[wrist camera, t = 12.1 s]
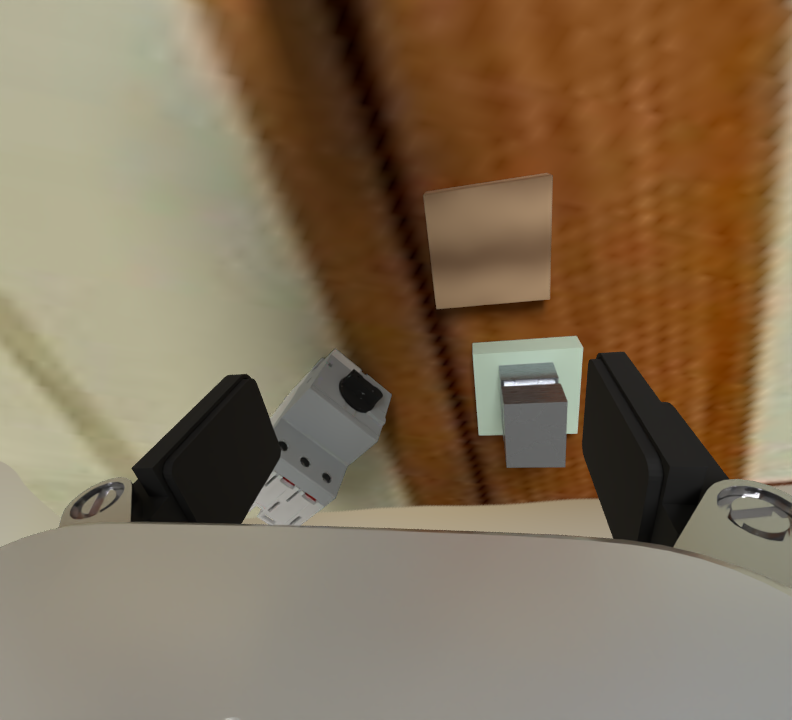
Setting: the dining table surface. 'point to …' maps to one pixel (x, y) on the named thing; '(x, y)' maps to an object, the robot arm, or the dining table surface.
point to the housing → (533, 415)
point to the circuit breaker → (320, 438)
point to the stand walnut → (490, 241)
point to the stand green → (528, 351)
